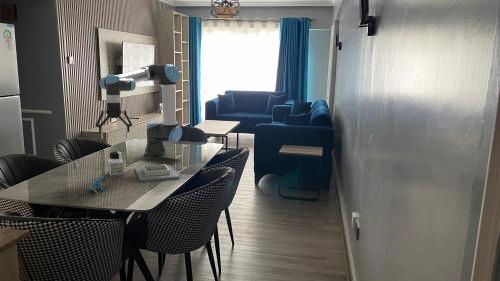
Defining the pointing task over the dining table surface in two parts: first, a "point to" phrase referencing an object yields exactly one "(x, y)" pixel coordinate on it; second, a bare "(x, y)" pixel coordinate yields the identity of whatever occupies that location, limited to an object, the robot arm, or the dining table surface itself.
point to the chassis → (156, 173)
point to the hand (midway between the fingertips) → (114, 138)
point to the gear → (96, 185)
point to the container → (116, 163)
